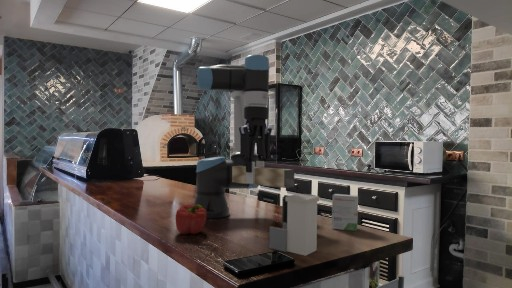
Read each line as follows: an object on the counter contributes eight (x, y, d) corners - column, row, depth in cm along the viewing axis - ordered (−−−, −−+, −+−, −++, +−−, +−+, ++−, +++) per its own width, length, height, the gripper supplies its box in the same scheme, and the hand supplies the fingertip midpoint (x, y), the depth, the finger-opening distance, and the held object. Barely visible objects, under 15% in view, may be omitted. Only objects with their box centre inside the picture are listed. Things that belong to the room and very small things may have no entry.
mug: (297, 226, 129) (298, 201, 129) (277, 220, 139) (277, 196, 139) (317, 223, 134) (317, 199, 134) (295, 217, 144) (296, 194, 144)
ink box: (331, 229, 127) (332, 195, 126) (333, 225, 131) (333, 193, 131) (356, 231, 124) (357, 196, 124) (357, 227, 129) (358, 194, 128)
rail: (232, 182, 115) (232, 166, 115) (240, 181, 118) (240, 165, 118) (286, 188, 102) (286, 170, 102) (294, 186, 105) (294, 169, 105)
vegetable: (214, 233, 118) (214, 203, 118) (188, 239, 111) (188, 207, 111) (194, 227, 126) (195, 199, 126) (168, 232, 118) (169, 202, 118)
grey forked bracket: (269, 247, 104) (270, 194, 103) (284, 242, 110) (284, 192, 109) (305, 256, 96) (306, 199, 96) (319, 250, 102) (319, 196, 102)
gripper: (247, 103, 102) (246, 186, 103) (282, 108, 116) (281, 181, 116) (228, 104, 107) (227, 183, 107) (263, 109, 120) (262, 179, 121)
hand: (255, 182), depth 112 cm, fingers closed on rail, 4 cm apart
